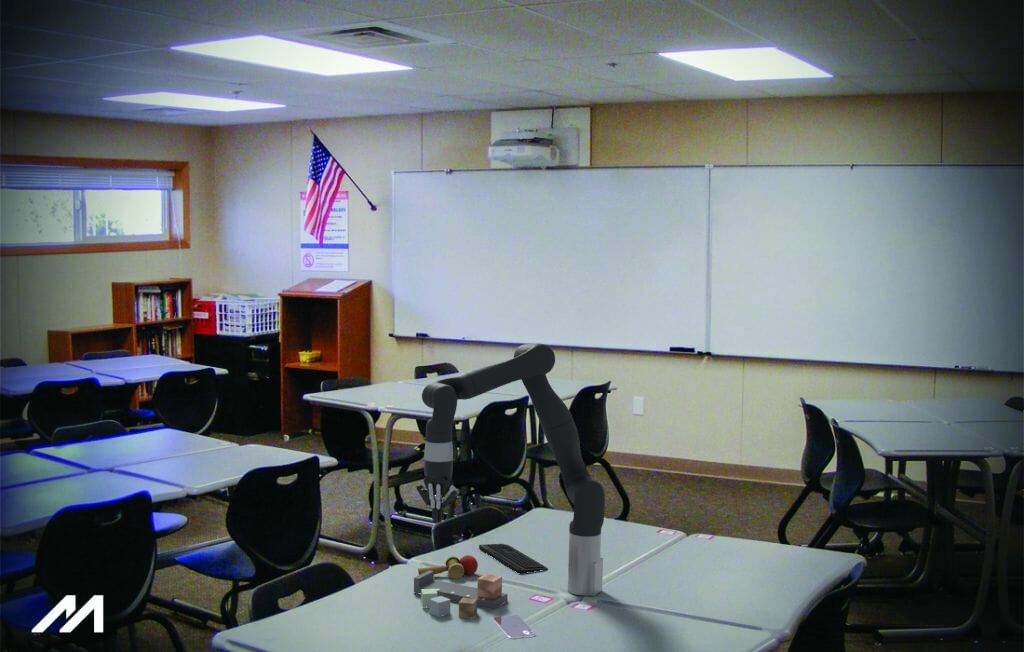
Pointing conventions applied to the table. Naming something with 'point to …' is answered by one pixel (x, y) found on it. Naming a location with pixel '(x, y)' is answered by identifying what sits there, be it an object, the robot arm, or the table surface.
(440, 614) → the cube slate
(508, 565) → the keyboard
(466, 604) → the cube walnut
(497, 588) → the slider
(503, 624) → the mobile phone
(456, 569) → the kendama
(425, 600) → the cube sage
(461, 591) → the rail board
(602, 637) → the table surface
